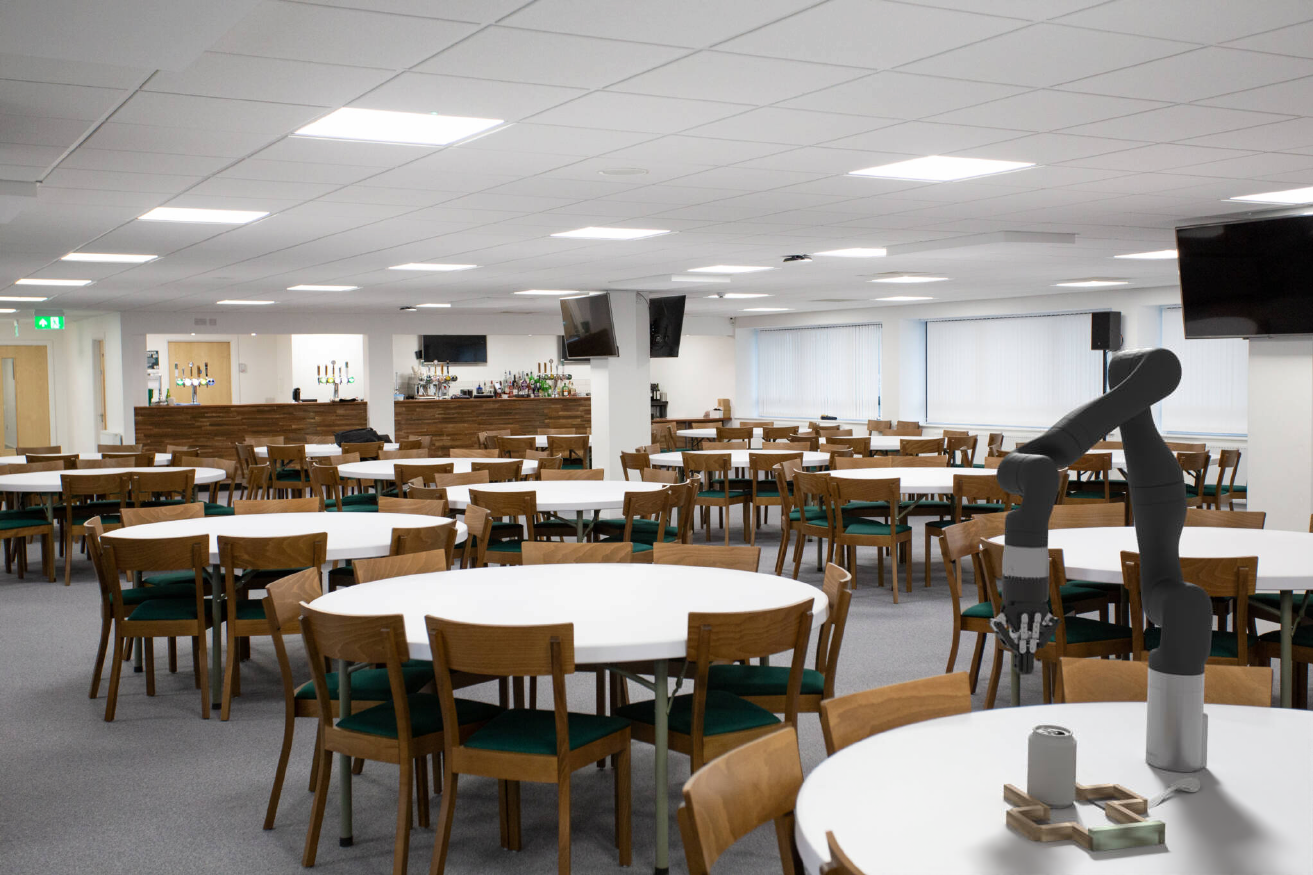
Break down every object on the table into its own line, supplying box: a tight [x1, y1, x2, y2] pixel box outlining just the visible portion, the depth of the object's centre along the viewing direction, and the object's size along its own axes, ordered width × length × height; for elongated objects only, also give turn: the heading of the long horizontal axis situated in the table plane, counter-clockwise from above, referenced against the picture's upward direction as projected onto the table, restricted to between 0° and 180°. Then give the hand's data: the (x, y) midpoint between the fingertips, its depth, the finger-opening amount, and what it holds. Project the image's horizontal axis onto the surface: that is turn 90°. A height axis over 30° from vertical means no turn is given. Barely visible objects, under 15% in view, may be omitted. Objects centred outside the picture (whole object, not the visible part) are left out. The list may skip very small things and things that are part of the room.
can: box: [1026, 724, 1078, 809], centre depth 182 cm, size 8×8×12 cm
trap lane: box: [1003, 781, 1166, 852], centre depth 175 cm, size 25×23×3 cm
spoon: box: [1148, 777, 1201, 809], centre depth 184 cm, size 4×21×2 cm, turn 129°
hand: (1023, 673), depth 190 cm, fingers closed
